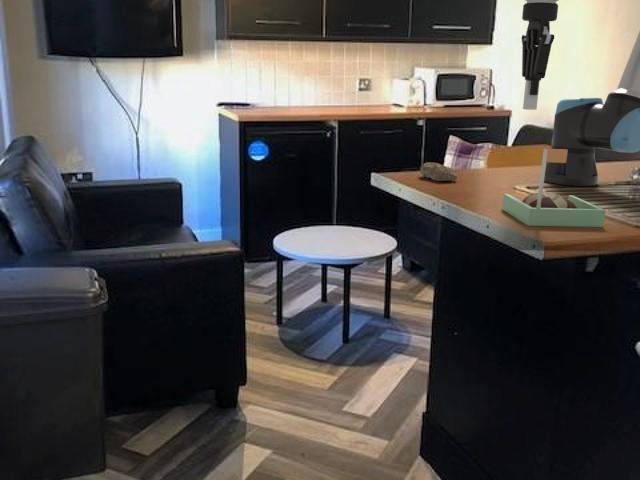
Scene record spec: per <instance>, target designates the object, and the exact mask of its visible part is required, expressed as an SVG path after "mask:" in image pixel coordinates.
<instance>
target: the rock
mask: <svg viewBox="0 0 640 480" xmlns="http://www.w3.org/2000/svg"><path fill="white" fill-rule="evenodd" d="M420 174H421V175H422V176H423V177H424V178H425V177H426V179H429V178H431V179H430V180H432V181H435V182H443V181H446V182H449V183H451V182H452V183H454V182H455V183H456V180H457V179H458V175H457V174H456V173H455V171H454V170H453V169H452V168H450V166H449V167H448V166H446V165H442V164H440V163H438V162H425V163H423V164H422V165H421V167H420Z"/></svg>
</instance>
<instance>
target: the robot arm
mask: <svg viewBox="0 0 640 480" xmlns="http://www.w3.org/2000/svg"><path fill="white" fill-rule="evenodd" d="M524 1H525V3H524V4H523V5H522V16H521V19H522V21H524V22H528V24H527V27H526V32H525V34H523V35H521V44H522V48H521V49H522V54H521V56H522V57H521V59H522V60H521V63H522V64H521V66H522V67H521V76H522V78H524V80H525V85H524V93H523V94H524V95H523V104H522V109H523V110H527V111H528V110H529V111H530V110H531V111H532V110H535V111H536V110H537V108H538V98H539V91H540V90H539V89H540V81H542V79H545V78H546V73H547V68H548V64H549V57H550V54H551V48H552V44H553V43H554V39H555V34H553V33H552V34H551V33H550V30H551V25H550V23H551V22H555V21H557V19H558V10H559V5H558V3H557V2H558V1H559V0H524ZM635 39H636V40H635V42H634V44H633V47H632V49H631V52H630V55H629V57H628V60H627V62H626V65H625V67H624V70H623V73H622V75H621V77H620V81H619V83H618V85H617V88H615V90H613V91H610V92H609V93H608V94H607V97H606V99H605V101H604V102H603V99H602V98H601V97H582V98H581V97H579V98H578V97H577V98H565V99H561V100H560V101H558V102H557V106H556V109H555V113H554V120H553V121H554V122H553V129H552V130H553V131H552V136H551V137H552V138H551V146H550V149H567V150H568V152H567V160H566V163H555V162H546V169H545V177H544V182H547V183H550V184H555V185H556V184H557V185H564V186H572V185H573V186H574V187H591V186H597V185H598V180H599V174H598V168H597V162H596V157H595V154H596V149H601V150H608V151H613V152H617V153H630V154H631V153H637V152H640V30H639V32H638V34H637V36H636V38H635ZM596 184H597V185H596Z"/></svg>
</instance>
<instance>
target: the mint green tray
mask: <svg viewBox="0 0 640 480" xmlns="http://www.w3.org/2000/svg"><path fill="white" fill-rule="evenodd" d="M567 152H568V150H567V149H551V148H543V153H542V161H541V167H540V176H539V177H540V178H539V184H538V192H537V193H538V199H537V206H536V208H532V207H531V206H529V205H527V204H525V203H523V202H522V201H523V200H522V201H521V200H520V199H518V198H516V197H514V196H513V195H510V194H509V193H503V198H502V206H501V207H502V208H501V209H502V210H503V211H504V212H506V213H507V214H509V215H511V216H512V217H514V218H515V219H516V220H518V221H520V222H522V223H523V224H524V225H526V226H530V227H531V226H537V227H574V228H575V227H579V228H580V227H581V228H582V227H583V228H585V227H587V228H589V227H590V228H604V224H605V223H604V222H605V217H606V212H607V211H606V209H604V208H601V207H599V206H597V205H595V204H593V203H591V202H588V201H586V200H584V199H582V198H579V197H577V196H575V195H572V194H571V195H568V198H567V199H568V200H570V201H571V202H573V203H574V204H575V205H576V206H577V208H578V209H569V208H541V200H542V193H543V192H544V184H545V181H544V177H545V169H546V162H555V163H566V160H567Z"/></svg>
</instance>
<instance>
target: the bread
mask: <svg viewBox="0 0 640 480" xmlns="http://www.w3.org/2000/svg"><path fill="white" fill-rule="evenodd" d="M537 199H538V192H535V193H532V194H530V195H528V196H526V197H525V198H523V199H522V202H523V203H525V204H527V205H529V206H531V207H532V208H536V206H537ZM541 208H569V209H578V208H577V206H576V205H575V204H574V203H573V202H571V201H570V200H568V198H567V197H564V196H561V195H560V194H559V193H558V192H555V193H550V194H548V195H545V194H544V193H543V192H542V200H541Z"/></svg>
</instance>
